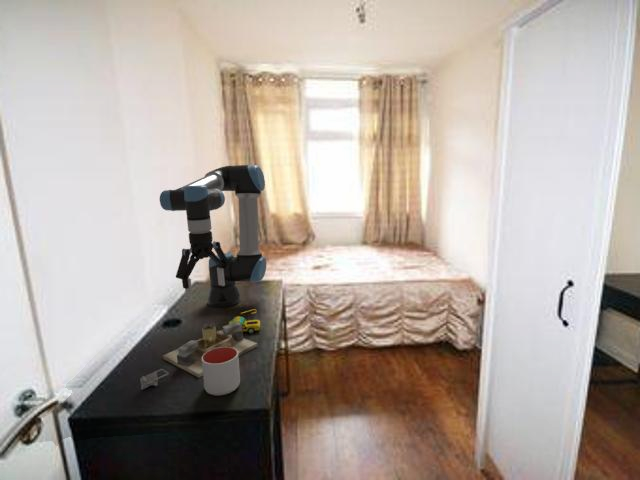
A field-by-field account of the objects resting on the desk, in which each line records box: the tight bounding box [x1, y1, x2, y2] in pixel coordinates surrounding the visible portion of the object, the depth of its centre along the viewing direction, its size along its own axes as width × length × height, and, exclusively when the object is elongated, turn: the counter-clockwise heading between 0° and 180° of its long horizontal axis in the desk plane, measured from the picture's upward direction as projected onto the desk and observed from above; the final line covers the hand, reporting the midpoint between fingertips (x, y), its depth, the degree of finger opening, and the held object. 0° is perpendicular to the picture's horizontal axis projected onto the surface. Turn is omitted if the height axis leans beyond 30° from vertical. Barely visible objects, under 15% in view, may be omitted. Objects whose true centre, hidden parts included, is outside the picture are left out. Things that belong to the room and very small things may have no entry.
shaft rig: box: [162, 322, 258, 378], centre depth 123 cm, size 25×20×7 cm
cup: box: [202, 347, 241, 397], centre depth 102 cm, size 10×10×10 cm
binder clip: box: [140, 368, 170, 390], centre depth 103 cm, size 6×4×6 cm, turn 141°
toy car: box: [228, 308, 261, 334], centre depth 139 cm, size 12×8×8 cm, turn 98°
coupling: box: [201, 322, 217, 350], centre depth 122 cm, size 4×4×9 cm
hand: (206, 290), depth 125 cm, fingers open, 13 cm apart
